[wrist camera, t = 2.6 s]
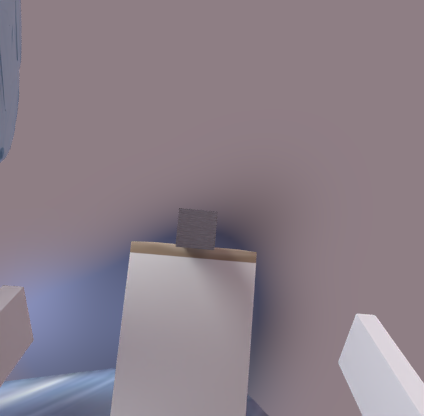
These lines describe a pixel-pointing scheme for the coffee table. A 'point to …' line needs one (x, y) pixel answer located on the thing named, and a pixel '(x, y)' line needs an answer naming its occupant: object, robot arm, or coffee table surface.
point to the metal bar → (196, 229)
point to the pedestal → (185, 332)
